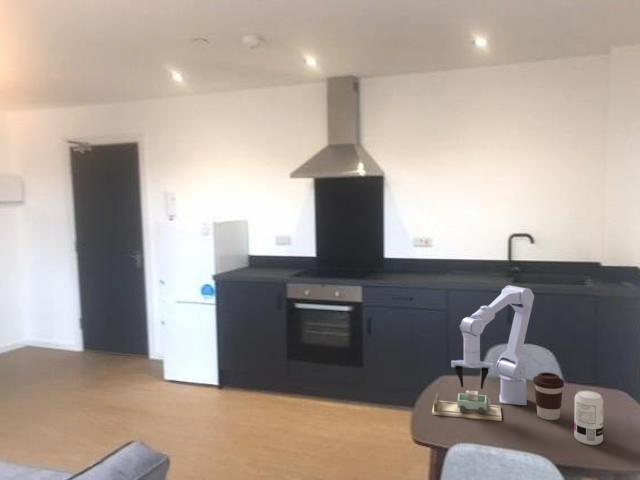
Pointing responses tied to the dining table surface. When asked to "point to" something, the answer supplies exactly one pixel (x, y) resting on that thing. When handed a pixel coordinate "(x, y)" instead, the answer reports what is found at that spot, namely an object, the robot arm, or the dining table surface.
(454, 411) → the track board
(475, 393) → the block
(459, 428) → the dining table surface
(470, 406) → the cart
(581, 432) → the supplement can
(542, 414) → the coffee cup
